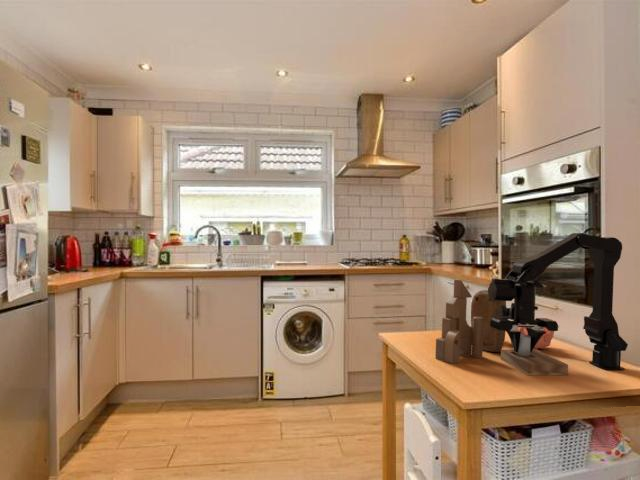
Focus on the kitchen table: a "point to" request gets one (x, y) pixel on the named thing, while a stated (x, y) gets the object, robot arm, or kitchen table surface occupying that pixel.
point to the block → (488, 320)
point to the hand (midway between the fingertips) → (522, 352)
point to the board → (535, 363)
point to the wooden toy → (459, 329)
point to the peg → (524, 346)
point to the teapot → (543, 341)
